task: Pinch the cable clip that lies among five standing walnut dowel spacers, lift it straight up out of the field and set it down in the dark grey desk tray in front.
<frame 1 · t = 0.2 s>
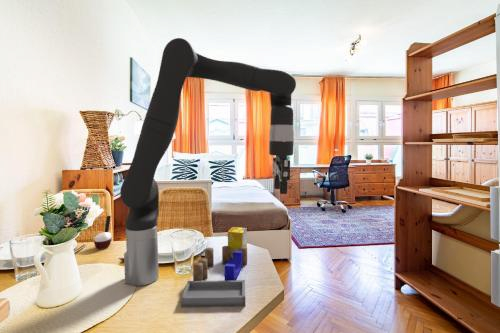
hand: (280, 191, 87), 28 cm above the table, fingers open, 8 cm apart
spacer a: (202, 278, 88), on the table
cable clip: (231, 275, 90), on the table
spacer d: (243, 263, 98), on the table
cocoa: (103, 247, 114), on the table
supplement box: (237, 258, 104), on the table
tray: (215, 297, 77), on the table
spacer e: (198, 282, 85), on the table
spacer c: (226, 263, 99), on the table
spacer b: (209, 265, 97), on the table
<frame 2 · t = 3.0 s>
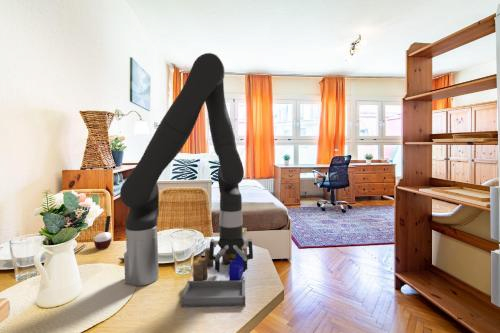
hand: (231, 270, 90), 1 cm above the table, fingers open, 8 cm apart
cable clip: (235, 276, 90), on the table
everything else where it was.
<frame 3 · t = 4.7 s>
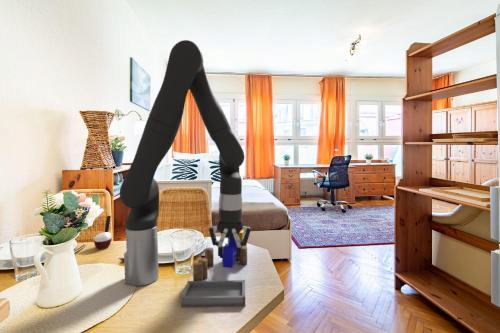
hand: (229, 257, 90), 6 cm above the table, fingers closed on cable clip, 4 cm apart
cable clip: (228, 259, 90), point 5 cm above the table, touching gripper
everything else where it was.
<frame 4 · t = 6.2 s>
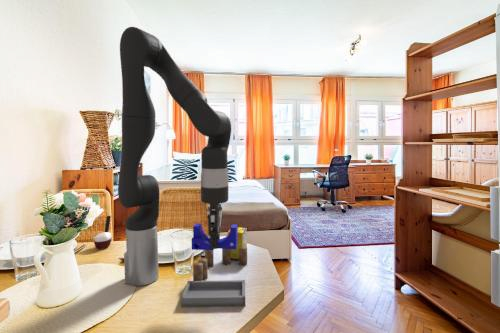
hand: (215, 244, 76), 15 cm above the table, fingers closed on cable clip, 4 cm apart
cable clip: (215, 247, 76), point 14 cm above the table, touching gripper
everything else where it was.
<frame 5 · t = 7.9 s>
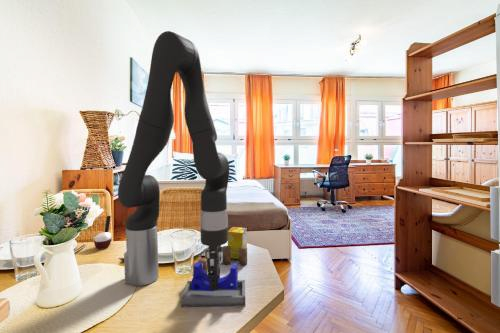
hand: (215, 284, 77), 4 cm above the table, fingers closed on cable clip, 4 cm apart
cable clip: (215, 287, 77), point 3 cm above the table, touching gripper
everything else where it was.
when the fingers open (3 cm above the table, at t = 8.9 s): cable clip drops 1 cm, resting on tray.
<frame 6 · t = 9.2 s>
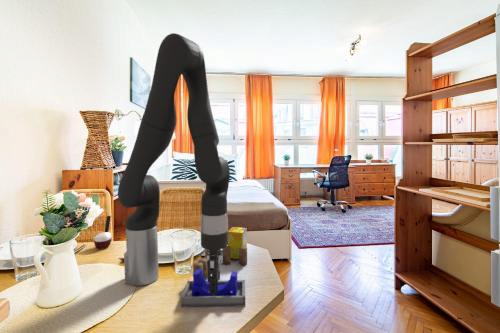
hand: (215, 286, 77), 3 cm above the table, fingers open, 6 cm apart
cable clip: (215, 295, 77), point 1 cm above the table, touching tray
everything else where it was.
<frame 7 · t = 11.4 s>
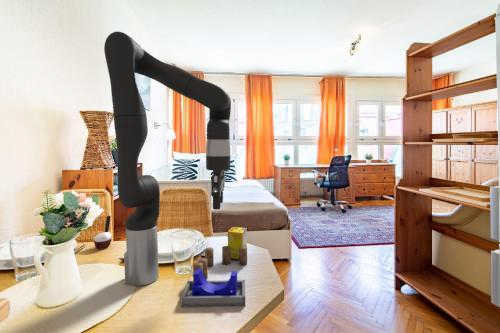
hand: (218, 205, 86), 24 cm above the table, fingers open, 8 cm apart
nothing on the table moved.
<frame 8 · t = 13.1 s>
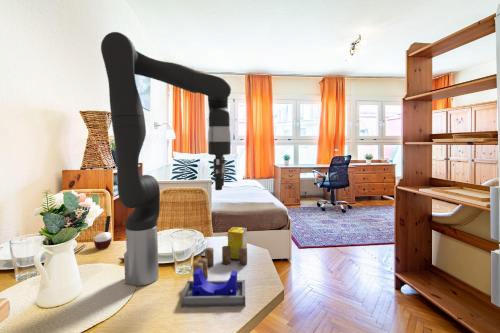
hand: (219, 187, 94), 28 cm above the table, fingers open, 8 cm apart
nothing on the table moved.
at the end: cable clip inside the target area on the tray (0.5 cm from its centre), point 0.6 cm above the tray's base; the gripper is holding nothing; cable clip moved 13.1 cm from its start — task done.
